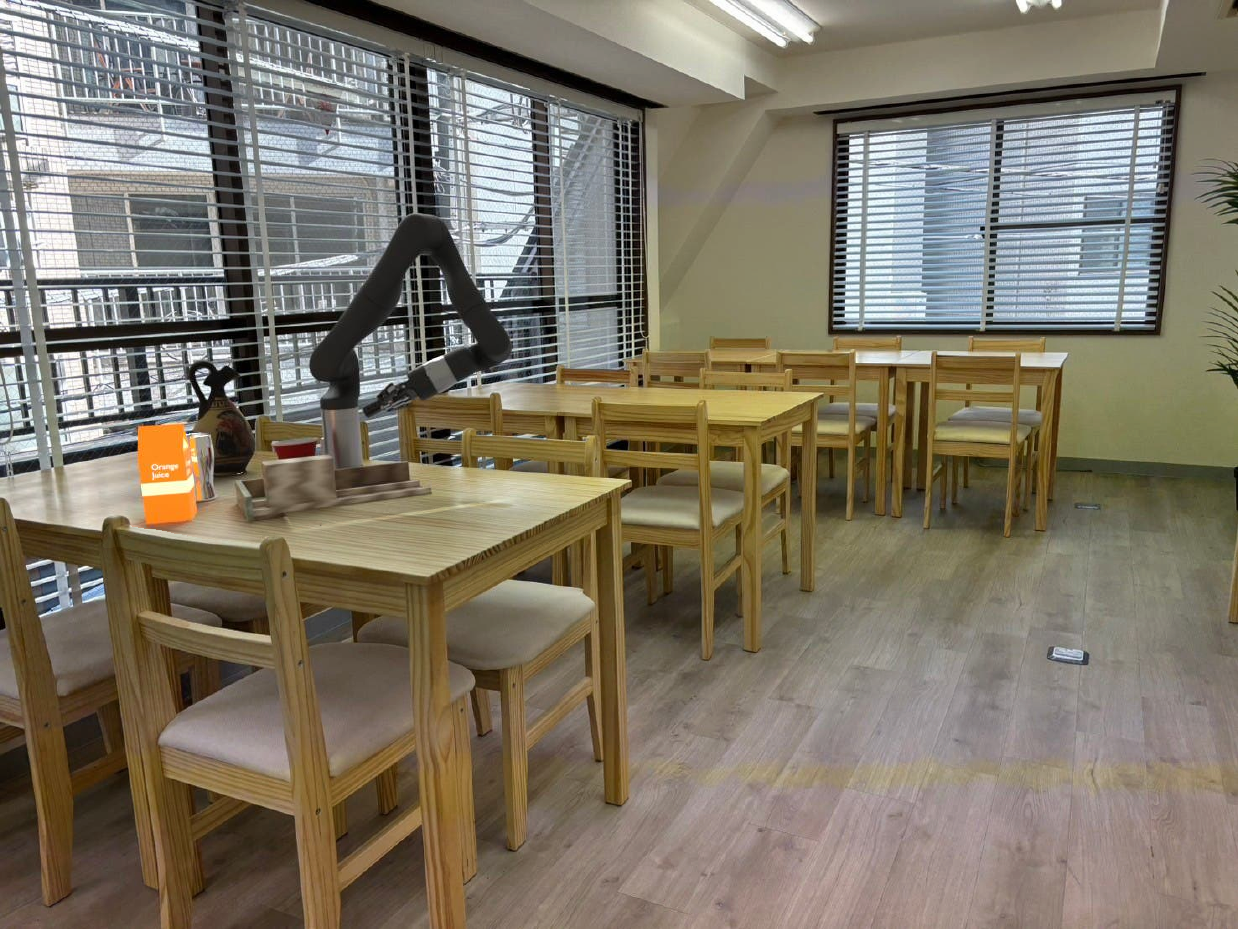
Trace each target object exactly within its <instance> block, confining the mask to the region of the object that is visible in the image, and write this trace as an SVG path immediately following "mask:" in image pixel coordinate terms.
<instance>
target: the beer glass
mask: <svg viewBox="0 0 1238 929" xmlns="http://www.w3.org/2000/svg"><path fill="white" fill-rule="evenodd" d="M186 436H187V440H188V444H189V448H190V457H191V465H192V473H193V479H194V490H195V498H196V503H200V502H208V501H212V500H216V499H217V498H218V495H217V493H216V490H215V486H214V485H215V484H214V475H213V472H214V449H213V443H212V439H211V434H210V433H193V434H192V433H186ZM215 498H216V499H215Z"/></svg>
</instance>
